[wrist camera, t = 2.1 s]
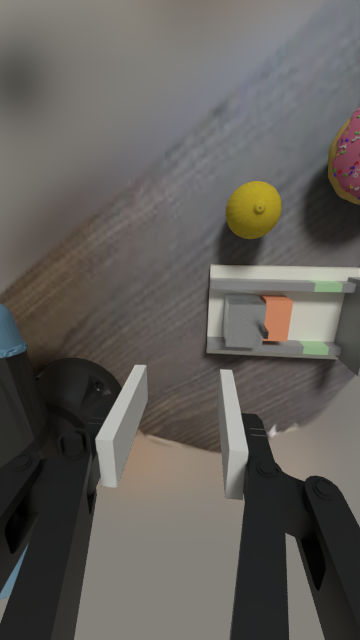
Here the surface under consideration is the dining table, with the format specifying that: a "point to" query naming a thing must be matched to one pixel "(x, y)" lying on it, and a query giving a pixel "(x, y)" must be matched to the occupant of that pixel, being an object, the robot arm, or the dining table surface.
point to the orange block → (277, 316)
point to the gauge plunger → (244, 321)
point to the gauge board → (294, 310)
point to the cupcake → (346, 160)
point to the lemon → (253, 210)
